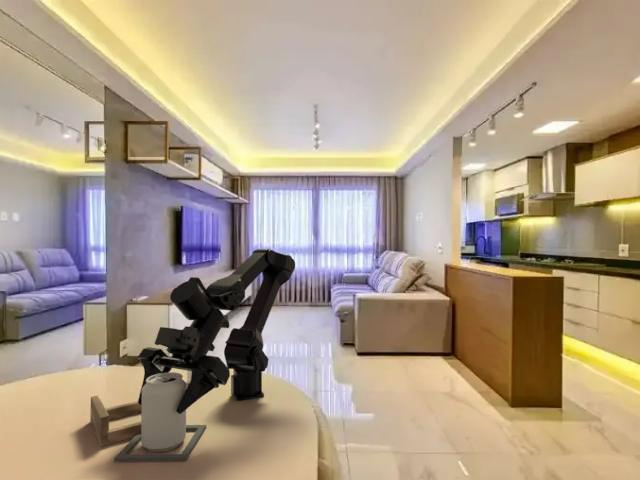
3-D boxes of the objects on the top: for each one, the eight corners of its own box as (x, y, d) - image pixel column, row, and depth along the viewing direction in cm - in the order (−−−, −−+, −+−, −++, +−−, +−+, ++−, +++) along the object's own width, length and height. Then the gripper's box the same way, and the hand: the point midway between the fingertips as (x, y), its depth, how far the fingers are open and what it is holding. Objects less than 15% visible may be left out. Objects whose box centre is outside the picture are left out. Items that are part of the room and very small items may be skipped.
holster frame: (145, 428, 76) (145, 425, 76) (206, 427, 76) (206, 424, 76) (113, 461, 64) (113, 457, 64) (186, 461, 64) (186, 457, 64)
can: (170, 456, 66) (171, 385, 66) (131, 452, 67) (132, 382, 67) (193, 435, 73) (194, 371, 73) (158, 432, 74) (158, 369, 75)
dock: (151, 407, 86) (151, 384, 86) (168, 427, 76) (168, 401, 76) (90, 421, 79) (90, 396, 79) (100, 446, 69) (100, 417, 69)
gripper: (146, 306, 78) (93, 378, 68) (220, 313, 70) (174, 394, 60) (175, 338, 85) (131, 407, 75) (245, 346, 77) (208, 425, 67)
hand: (158, 408), depth 69 cm, fingers open, 9 cm apart
